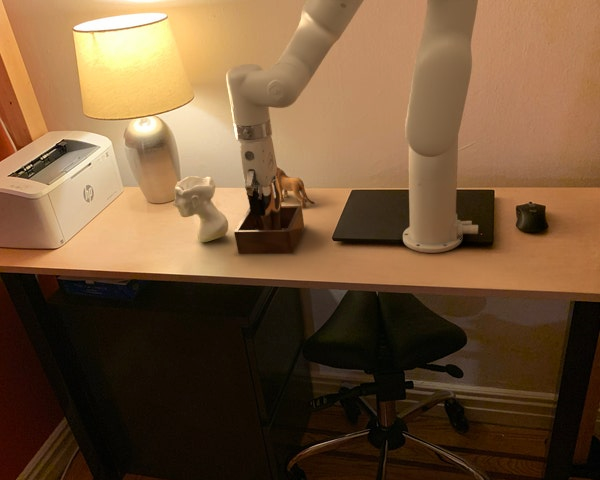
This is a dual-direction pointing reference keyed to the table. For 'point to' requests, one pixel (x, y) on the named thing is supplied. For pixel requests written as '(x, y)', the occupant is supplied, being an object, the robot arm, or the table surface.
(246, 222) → the tub
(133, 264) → the table surface
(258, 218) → the beer glass
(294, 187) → the lion figurine
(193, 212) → the white sculpted bust
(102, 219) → the table surface
